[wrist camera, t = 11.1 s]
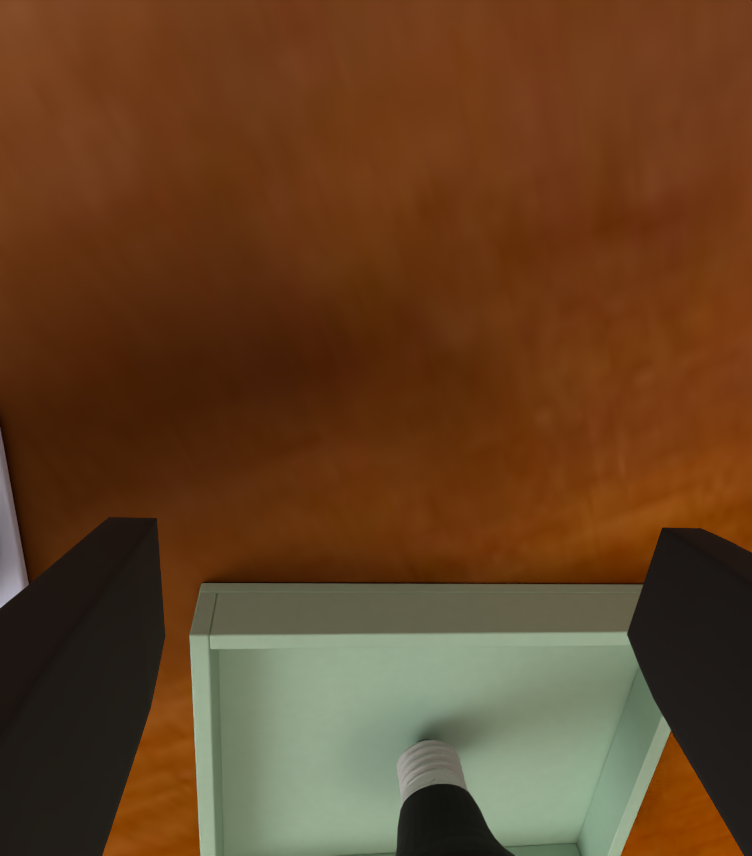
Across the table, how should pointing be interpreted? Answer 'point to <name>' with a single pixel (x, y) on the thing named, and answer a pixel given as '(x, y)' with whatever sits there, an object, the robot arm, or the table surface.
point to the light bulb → (439, 806)
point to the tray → (418, 712)
